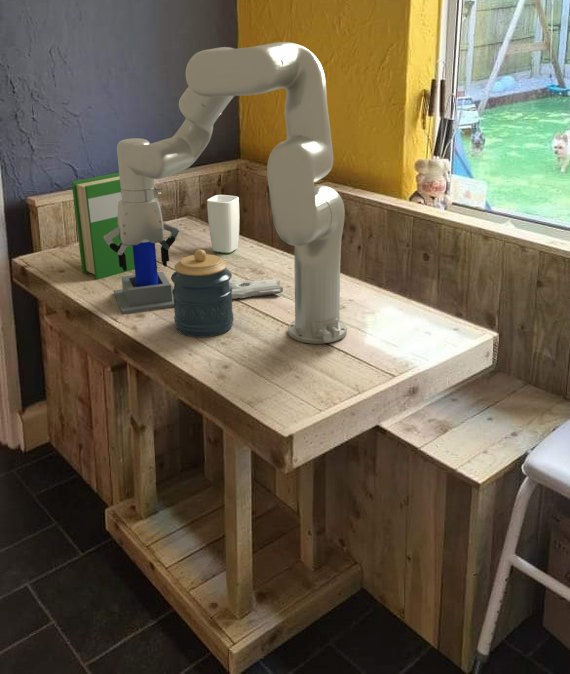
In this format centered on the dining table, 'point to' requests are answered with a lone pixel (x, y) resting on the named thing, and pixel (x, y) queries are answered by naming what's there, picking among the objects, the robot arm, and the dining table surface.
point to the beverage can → (145, 263)
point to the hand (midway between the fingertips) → (144, 266)
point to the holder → (144, 295)
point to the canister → (202, 295)
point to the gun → (254, 288)
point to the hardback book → (99, 225)
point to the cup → (223, 222)
